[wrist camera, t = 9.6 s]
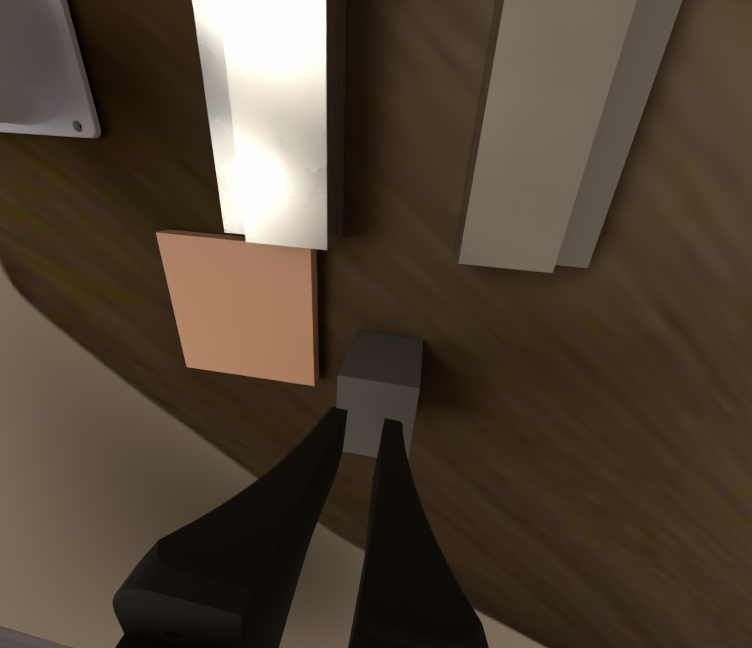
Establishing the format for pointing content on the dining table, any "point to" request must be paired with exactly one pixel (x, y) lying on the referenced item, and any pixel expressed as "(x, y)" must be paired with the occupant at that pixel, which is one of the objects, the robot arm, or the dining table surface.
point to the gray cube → (379, 388)
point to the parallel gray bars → (491, 134)
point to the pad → (244, 305)
